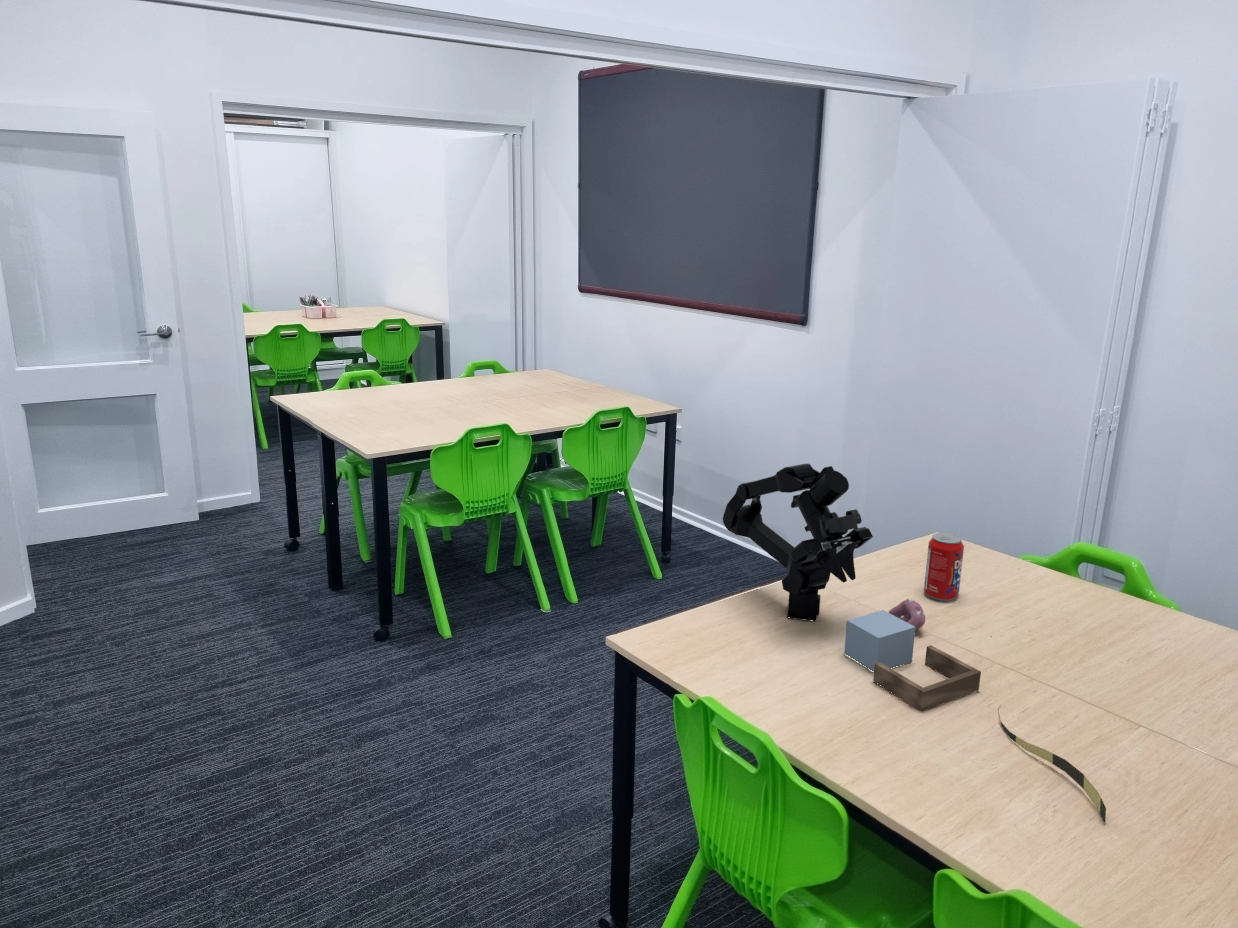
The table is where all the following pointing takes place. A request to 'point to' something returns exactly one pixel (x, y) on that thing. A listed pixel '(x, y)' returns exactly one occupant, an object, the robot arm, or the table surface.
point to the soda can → (944, 567)
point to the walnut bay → (956, 686)
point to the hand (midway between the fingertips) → (849, 580)
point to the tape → (1064, 766)
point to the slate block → (879, 640)
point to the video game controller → (910, 613)
